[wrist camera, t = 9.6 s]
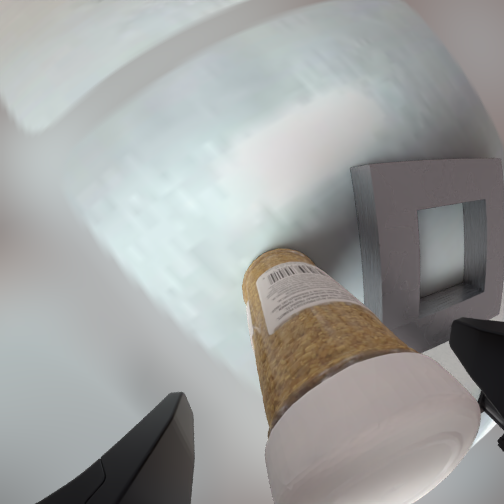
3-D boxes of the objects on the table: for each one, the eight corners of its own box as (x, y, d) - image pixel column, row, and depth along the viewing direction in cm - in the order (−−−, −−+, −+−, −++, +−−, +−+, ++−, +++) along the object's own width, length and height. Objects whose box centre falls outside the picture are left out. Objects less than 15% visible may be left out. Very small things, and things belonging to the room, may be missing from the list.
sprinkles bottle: (234, 313, 17) (249, 545, 3) (252, 237, 16) (339, 415, 3) (307, 326, 17) (414, 515, 4) (328, 255, 16) (519, 388, 3)
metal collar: (480, 304, 18) (499, 313, 16) (365, 349, 18) (380, 368, 15) (478, 159, 16) (500, 158, 13) (349, 168, 15) (369, 164, 13)
